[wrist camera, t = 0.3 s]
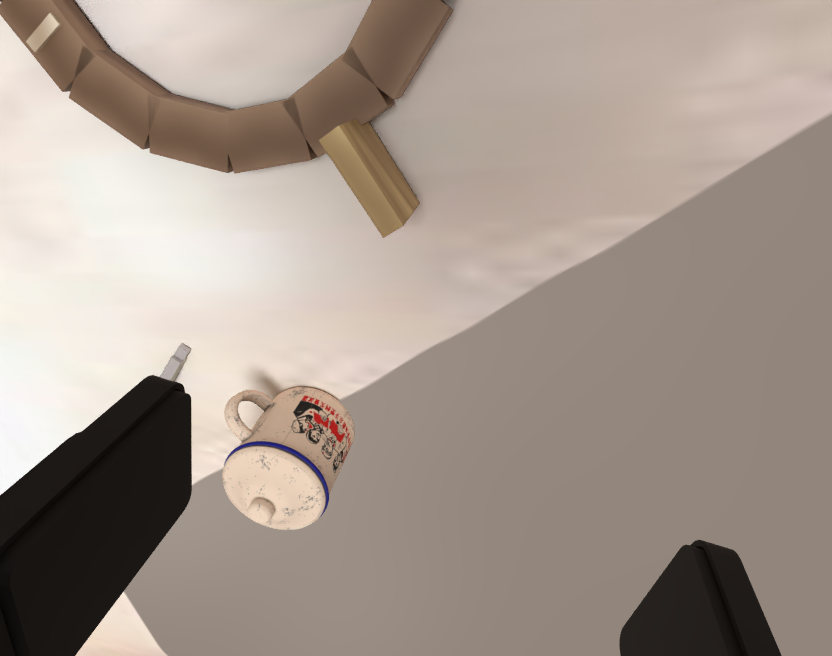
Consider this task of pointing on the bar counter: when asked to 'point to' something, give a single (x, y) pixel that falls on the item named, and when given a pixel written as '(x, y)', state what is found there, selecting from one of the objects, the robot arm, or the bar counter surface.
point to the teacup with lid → (287, 456)
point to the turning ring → (258, 125)
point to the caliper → (176, 363)
